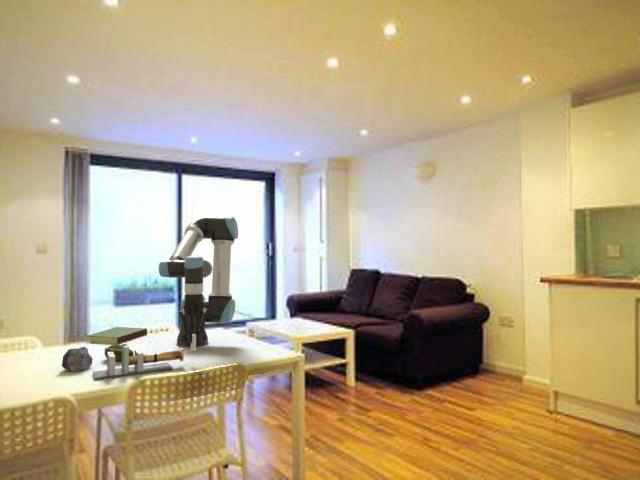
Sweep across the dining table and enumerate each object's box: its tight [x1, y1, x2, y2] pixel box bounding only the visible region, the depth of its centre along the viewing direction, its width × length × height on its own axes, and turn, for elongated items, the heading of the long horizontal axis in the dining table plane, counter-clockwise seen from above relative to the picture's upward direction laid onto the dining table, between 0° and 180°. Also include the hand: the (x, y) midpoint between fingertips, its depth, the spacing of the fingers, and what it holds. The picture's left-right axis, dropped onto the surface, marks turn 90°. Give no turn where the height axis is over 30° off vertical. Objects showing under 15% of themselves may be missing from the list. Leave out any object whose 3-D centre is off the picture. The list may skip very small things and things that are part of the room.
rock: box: [61, 346, 93, 373], centre depth 183 cm, size 11×10×10 cm
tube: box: [129, 347, 185, 366], centre depth 184 cm, size 5×21×5 cm, turn 120°
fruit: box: [104, 344, 135, 363], centre depth 197 cm, size 11×12×7 cm
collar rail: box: [92, 342, 173, 381], centre depth 180 cm, size 9×28×11 cm, turn 120°
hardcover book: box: [85, 326, 148, 345], centre depth 242 cm, size 25×19×4 cm
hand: (193, 350), depth 191 cm, fingers closed
